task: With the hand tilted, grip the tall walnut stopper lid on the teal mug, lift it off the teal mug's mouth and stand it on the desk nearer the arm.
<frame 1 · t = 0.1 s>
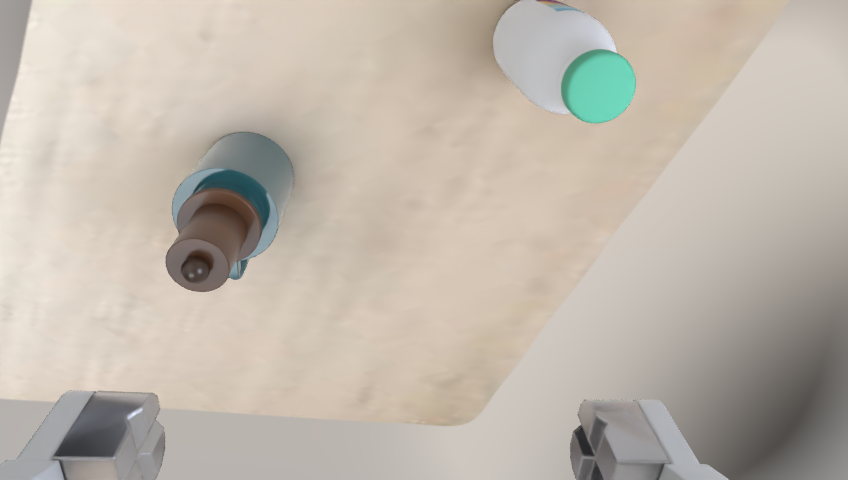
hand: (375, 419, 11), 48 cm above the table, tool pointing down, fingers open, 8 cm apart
lid: (221, 224, 49), point 11 cm above the table, touching teal mug
teal mug: (249, 174, 59), on the table
milk bottle: (531, 39, 55), on the table
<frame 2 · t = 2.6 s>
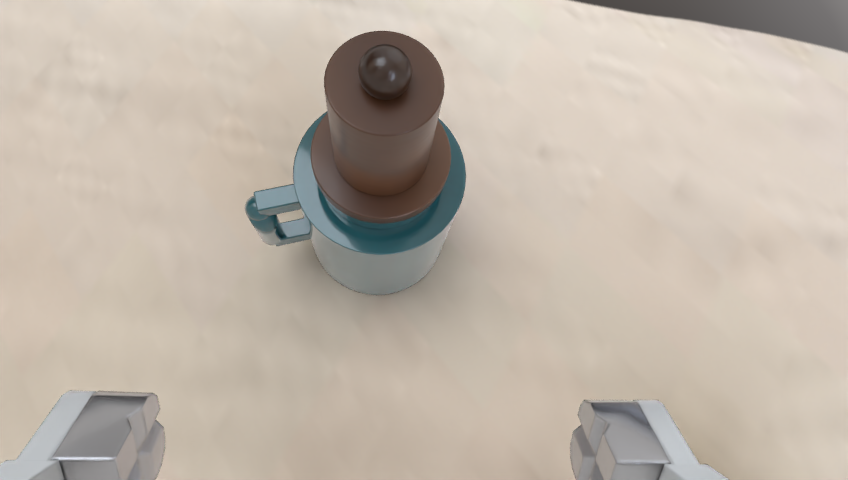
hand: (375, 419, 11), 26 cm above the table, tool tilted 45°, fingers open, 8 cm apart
lid: (381, 159, 29), point 11 cm above the table, touching teal mug
teal mug: (377, 230, 40), on the table
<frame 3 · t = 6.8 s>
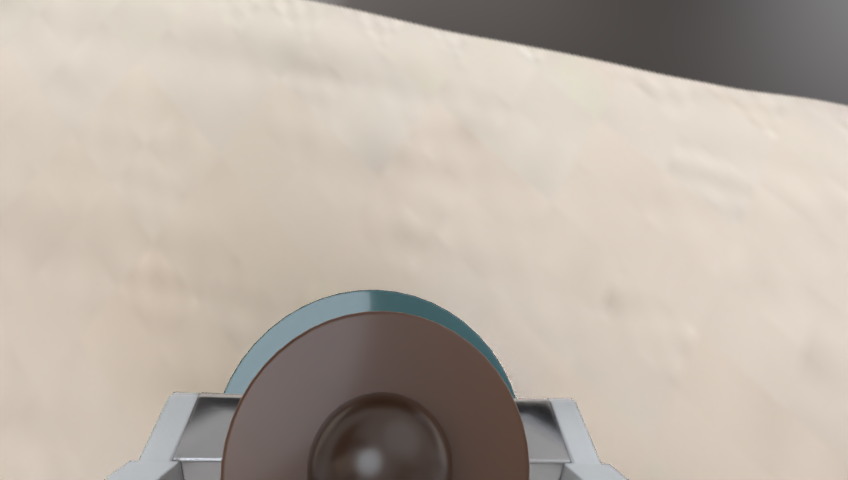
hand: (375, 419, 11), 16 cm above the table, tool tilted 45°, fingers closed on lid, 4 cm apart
lid: (373, 444, 15), point 12 cm above the table, touching gripper, teal mug
teal mug: (369, 434, 26), on the table
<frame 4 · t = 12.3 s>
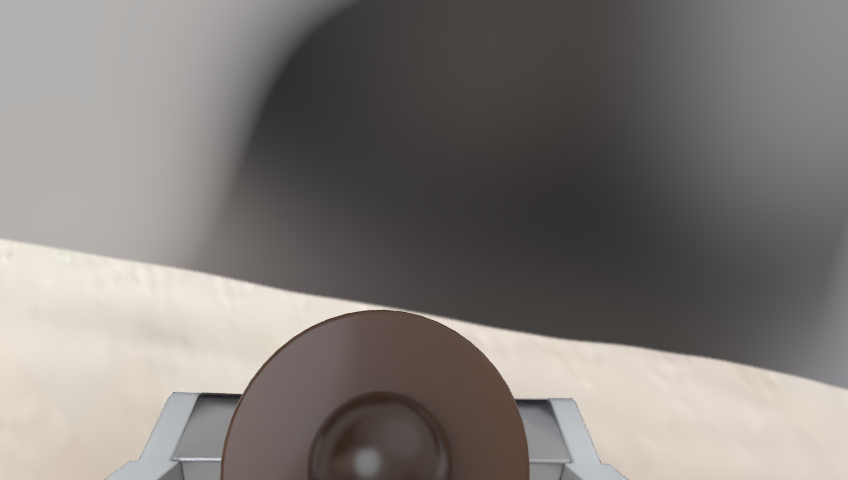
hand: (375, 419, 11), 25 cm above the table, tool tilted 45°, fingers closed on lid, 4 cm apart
lid: (373, 444, 15), point 20 cm above the table, touching gripper
when the fingers open (4 cm above the table, at t = 18.0 s): lid stays where it is, on the table.
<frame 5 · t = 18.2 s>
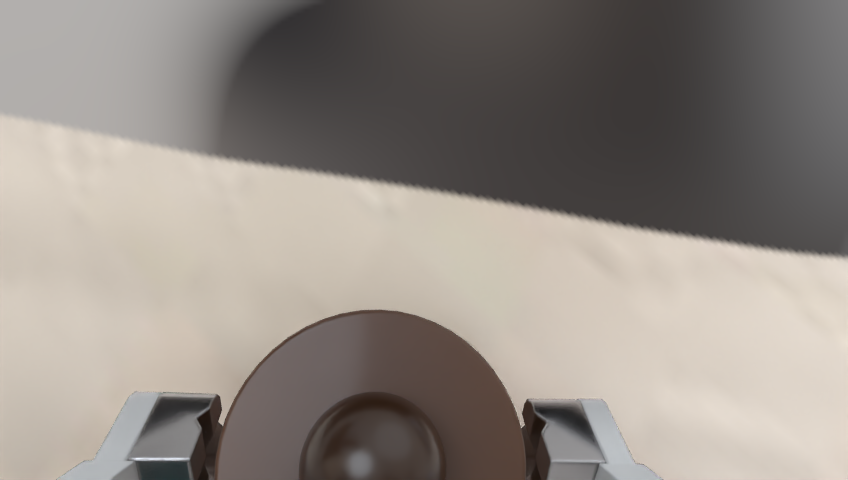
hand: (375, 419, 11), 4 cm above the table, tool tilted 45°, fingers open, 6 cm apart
lid: (375, 443, 15), on the table
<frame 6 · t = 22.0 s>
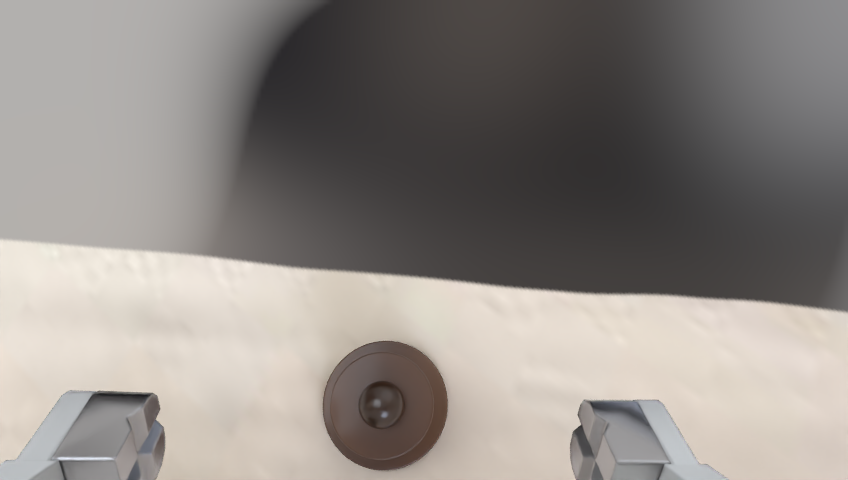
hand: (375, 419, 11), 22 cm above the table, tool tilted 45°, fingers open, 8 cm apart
lid: (385, 403, 32), on the table
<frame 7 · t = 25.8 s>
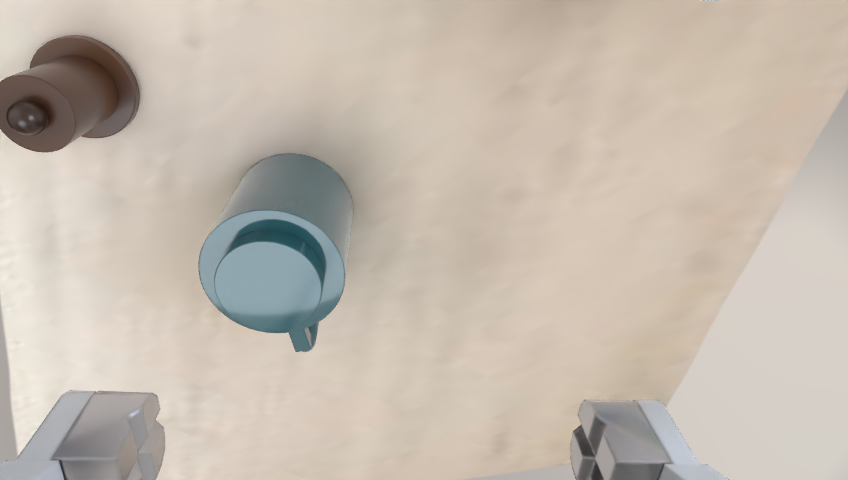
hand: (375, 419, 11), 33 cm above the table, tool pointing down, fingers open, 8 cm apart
lid: (88, 87, 40), on the table
teal mug: (294, 208, 45), on the table
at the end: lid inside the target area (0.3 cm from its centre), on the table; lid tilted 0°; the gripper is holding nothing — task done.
